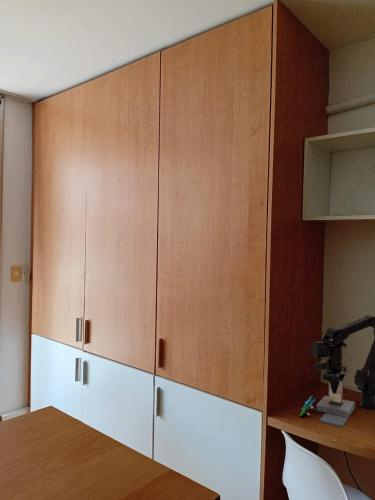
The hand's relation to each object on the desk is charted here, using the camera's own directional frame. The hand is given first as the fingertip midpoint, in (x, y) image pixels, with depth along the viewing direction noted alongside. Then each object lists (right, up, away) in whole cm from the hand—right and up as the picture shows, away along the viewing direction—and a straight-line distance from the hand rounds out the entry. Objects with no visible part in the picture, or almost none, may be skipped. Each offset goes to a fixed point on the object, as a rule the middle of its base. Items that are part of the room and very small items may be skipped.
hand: (335, 392), depth 168 cm
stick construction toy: (-13, -8, -5) cm, 16 cm away
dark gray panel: (-5, -7, -12) cm, 15 cm away
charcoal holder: (0, -7, 0) cm, 7 cm away
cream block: (0, -4, 0) cm, 4 cm away
